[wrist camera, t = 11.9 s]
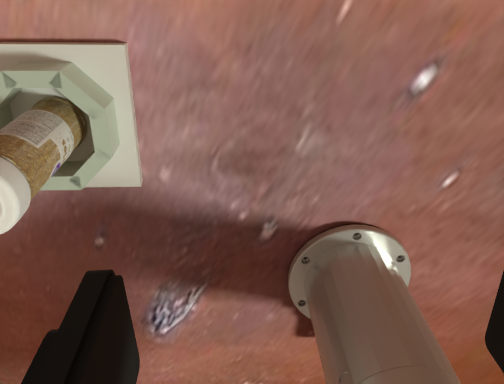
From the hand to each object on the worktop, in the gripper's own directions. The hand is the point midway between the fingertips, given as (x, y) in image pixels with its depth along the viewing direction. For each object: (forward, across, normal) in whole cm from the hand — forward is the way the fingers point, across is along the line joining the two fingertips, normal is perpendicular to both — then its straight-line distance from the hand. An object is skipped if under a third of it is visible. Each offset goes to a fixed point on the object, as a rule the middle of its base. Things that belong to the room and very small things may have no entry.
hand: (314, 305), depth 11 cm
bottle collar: (+27, +16, +3) cm, 32 cm away
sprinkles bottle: (+27, +16, +3) cm, 31 cm away
